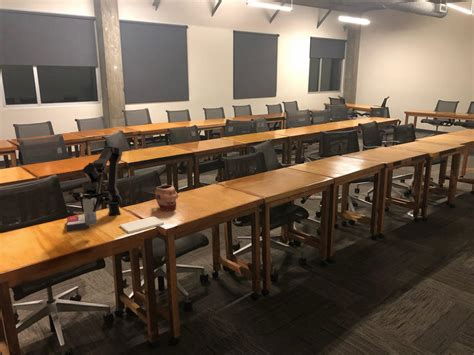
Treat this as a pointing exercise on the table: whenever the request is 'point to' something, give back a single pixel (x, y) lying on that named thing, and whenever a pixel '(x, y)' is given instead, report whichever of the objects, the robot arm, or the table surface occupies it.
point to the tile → (141, 224)
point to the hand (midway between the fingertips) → (88, 211)
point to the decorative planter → (166, 197)
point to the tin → (89, 210)
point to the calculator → (76, 223)
